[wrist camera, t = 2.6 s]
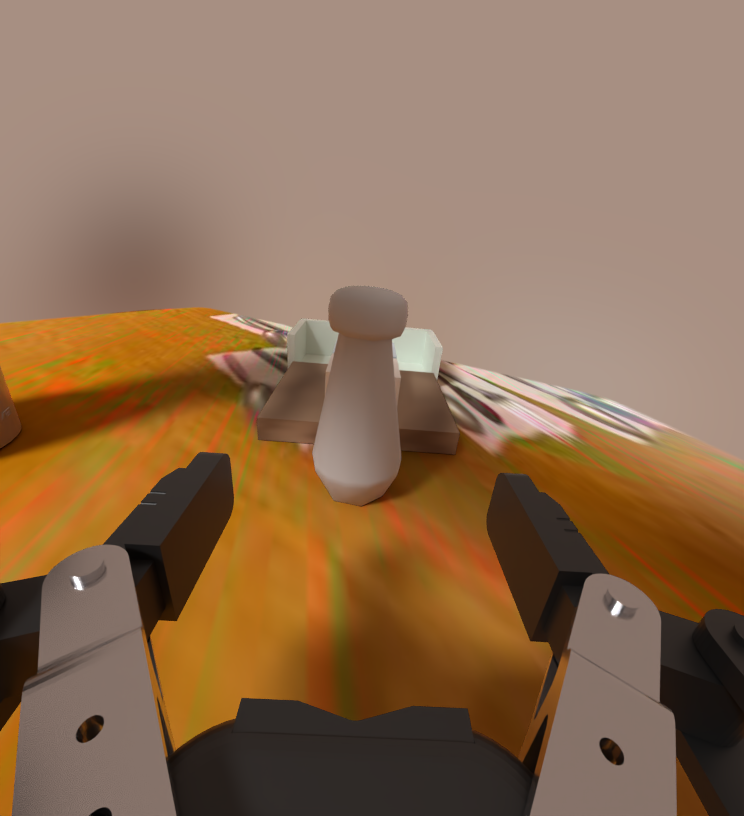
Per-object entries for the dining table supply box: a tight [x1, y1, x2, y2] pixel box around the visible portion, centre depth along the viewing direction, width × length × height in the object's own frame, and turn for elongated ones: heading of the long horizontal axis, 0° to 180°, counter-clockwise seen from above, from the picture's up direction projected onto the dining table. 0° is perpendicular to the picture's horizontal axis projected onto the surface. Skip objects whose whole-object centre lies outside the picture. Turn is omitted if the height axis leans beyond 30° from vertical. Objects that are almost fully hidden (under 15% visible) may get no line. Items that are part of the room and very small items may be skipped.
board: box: [257, 361, 460, 454], centre depth 35 cm, size 16×14×2 cm
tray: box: [287, 319, 443, 380], centre depth 45 cm, size 17×8×5 cm, turn 90°
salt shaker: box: [312, 286, 408, 506], centre depth 22 cm, size 6×6×13 cm
